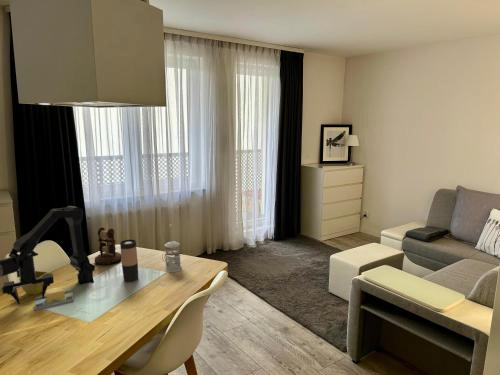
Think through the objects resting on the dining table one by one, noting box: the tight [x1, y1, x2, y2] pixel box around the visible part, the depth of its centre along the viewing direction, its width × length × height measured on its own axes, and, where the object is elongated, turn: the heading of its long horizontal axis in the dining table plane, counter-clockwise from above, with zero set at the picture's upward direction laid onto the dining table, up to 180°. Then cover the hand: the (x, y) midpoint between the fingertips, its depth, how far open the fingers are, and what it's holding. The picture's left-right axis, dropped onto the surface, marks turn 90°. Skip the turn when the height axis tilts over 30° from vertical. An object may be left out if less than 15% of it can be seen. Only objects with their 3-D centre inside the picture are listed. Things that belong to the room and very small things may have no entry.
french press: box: [161, 224, 183, 273], centre depth 187 cm, size 10×12×25 cm
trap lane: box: [34, 289, 75, 311], centre depth 156 cm, size 15×11×1 cm
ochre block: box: [45, 285, 65, 303], centre depth 157 cm, size 7×5×4 cm
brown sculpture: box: [94, 227, 121, 266], centre depth 200 cm, size 15×15×20 cm
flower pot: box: [18, 270, 50, 296], centre depth 163 cm, size 9×9×9 cm
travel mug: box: [119, 239, 139, 283], centre depth 176 cm, size 8×8×20 cm
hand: (31, 301), depth 153 cm, fingers open, 8 cm apart
